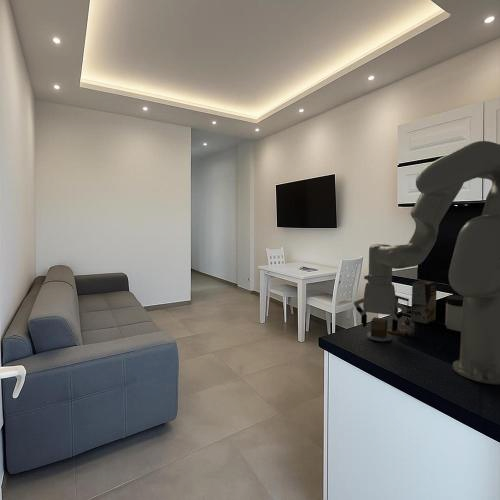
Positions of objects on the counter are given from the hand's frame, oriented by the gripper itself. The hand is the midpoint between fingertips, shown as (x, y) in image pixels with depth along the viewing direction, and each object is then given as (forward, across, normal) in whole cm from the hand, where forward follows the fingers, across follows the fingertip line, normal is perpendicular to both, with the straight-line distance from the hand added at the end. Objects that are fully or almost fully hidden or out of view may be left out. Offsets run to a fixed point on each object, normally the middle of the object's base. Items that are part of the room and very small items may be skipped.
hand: (378, 328), depth 110 cm
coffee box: (+4, +12, +32) cm, 34 cm away
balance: (+4, +4, +10) cm, 11 cm away
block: (+2, 0, 0) cm, 3 cm away
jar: (+4, +24, +27) cm, 36 cm away
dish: (+4, 0, 0) cm, 4 cm away
